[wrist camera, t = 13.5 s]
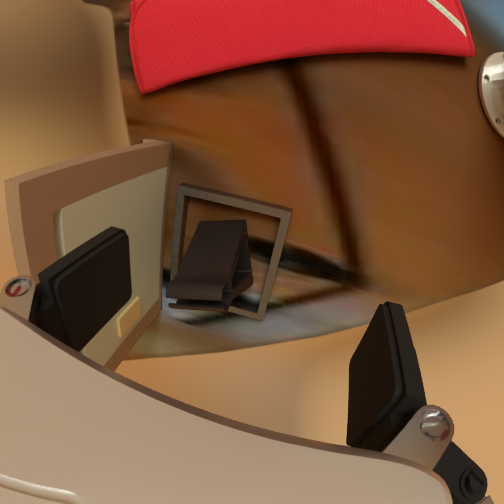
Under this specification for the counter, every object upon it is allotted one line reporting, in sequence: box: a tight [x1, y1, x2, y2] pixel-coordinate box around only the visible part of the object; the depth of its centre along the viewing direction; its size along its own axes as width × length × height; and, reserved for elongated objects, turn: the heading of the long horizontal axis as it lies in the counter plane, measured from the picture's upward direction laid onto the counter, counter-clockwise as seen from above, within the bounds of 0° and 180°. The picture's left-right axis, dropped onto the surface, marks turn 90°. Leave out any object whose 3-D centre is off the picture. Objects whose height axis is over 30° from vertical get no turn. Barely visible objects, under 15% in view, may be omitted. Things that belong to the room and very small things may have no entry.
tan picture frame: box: [5, 139, 174, 371], centre depth 29 cm, size 4×26×23 cm, turn 169°
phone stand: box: [166, 220, 253, 312], centre depth 33 cm, size 9×6×12 cm, turn 6°
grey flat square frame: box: [170, 183, 292, 321], centre depth 38 cm, size 14×16×2 cm
